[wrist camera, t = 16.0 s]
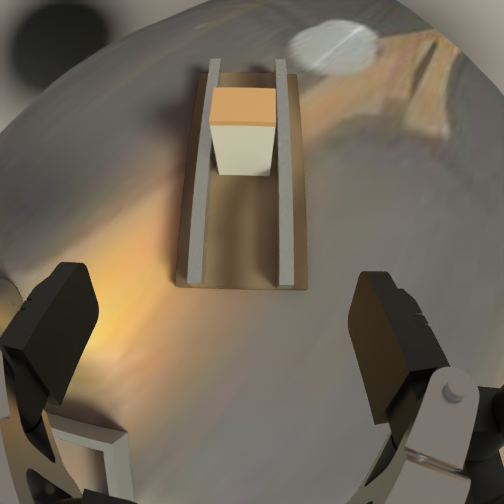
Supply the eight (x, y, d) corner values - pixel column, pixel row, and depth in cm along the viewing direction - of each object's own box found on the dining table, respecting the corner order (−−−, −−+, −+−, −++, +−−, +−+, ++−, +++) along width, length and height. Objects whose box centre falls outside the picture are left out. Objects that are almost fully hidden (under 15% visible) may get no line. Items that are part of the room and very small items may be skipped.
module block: (219, 174, 31) (208, 120, 22) (221, 144, 32) (213, 87, 23) (269, 176, 31) (275, 122, 22) (269, 146, 32) (275, 88, 23)
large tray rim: (17, 516, 21) (3, 525, 17) (-8, 392, 26) (-29, 394, 22) (145, 563, 21) (137, 581, 17) (127, 432, 26) (112, 444, 22)
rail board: (177, 287, 29) (168, 281, 26) (200, 78, 36) (197, 59, 32) (305, 290, 29) (313, 285, 26) (295, 79, 36) (299, 60, 32)
